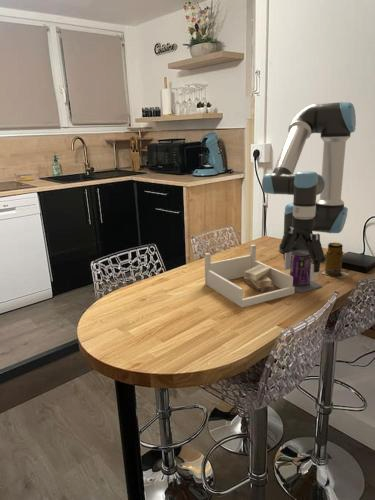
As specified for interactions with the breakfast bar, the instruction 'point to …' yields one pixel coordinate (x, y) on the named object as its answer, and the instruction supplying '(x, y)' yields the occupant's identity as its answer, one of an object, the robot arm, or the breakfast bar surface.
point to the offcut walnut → (259, 288)
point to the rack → (236, 268)
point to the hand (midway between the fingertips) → (300, 274)
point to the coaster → (306, 287)
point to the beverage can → (300, 267)
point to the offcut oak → (262, 282)
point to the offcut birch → (257, 272)
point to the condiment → (334, 261)
